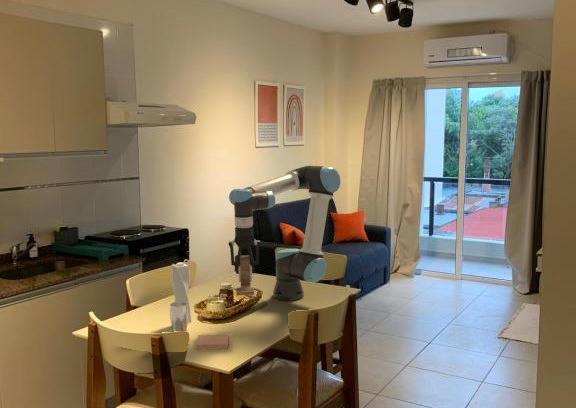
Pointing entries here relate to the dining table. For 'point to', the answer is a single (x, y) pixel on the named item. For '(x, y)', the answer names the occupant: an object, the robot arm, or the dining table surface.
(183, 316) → the beer glass
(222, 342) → the tile
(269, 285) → the dining table surface
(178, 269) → the skyscraper
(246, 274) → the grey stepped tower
